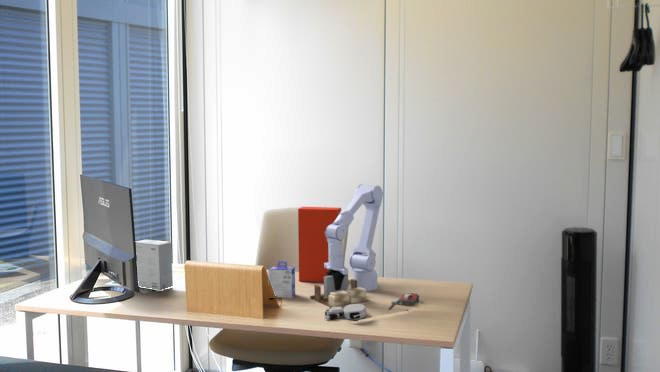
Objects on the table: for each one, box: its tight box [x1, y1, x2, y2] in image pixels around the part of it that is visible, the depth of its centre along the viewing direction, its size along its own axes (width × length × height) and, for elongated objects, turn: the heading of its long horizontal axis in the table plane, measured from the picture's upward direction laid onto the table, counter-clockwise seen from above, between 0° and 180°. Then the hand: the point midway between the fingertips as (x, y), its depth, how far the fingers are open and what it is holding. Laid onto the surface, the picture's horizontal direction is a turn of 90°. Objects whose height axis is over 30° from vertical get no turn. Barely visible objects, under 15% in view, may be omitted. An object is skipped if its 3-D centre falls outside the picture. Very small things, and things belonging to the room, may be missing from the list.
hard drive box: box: [135, 239, 174, 290], centre depth 301 cm, size 16×8×20 cm, turn 58°
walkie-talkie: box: [387, 292, 420, 311], centre depth 272 cm, size 9×4×20 cm
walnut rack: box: [309, 278, 372, 308], centre depth 278 cm, size 18×16×7 cm
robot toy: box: [324, 302, 367, 322], centre depth 257 cm, size 12×4×15 cm
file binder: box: [297, 206, 342, 283], centre depth 311 cm, size 8×17×32 cm, turn 76°
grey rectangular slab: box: [323, 273, 349, 297], centre depth 280 cm, size 10×2×8 cm, turn 122°
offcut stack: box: [328, 287, 367, 307], centre depth 274 cm, size 15×4×4 cm, turn 122°
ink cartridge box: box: [268, 260, 296, 299], centre depth 284 cm, size 10×6×14 cm, turn 78°
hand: (336, 288), depth 280 cm, fingers closed on grey rectangular slab, 2 cm apart
